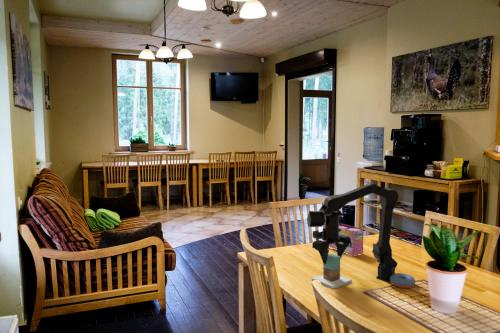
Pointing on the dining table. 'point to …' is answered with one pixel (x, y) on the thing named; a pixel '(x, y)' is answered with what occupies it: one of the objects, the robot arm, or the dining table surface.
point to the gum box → (355, 236)
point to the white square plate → (335, 283)
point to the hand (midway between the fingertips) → (331, 261)
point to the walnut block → (331, 274)
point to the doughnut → (402, 280)
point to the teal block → (332, 262)
